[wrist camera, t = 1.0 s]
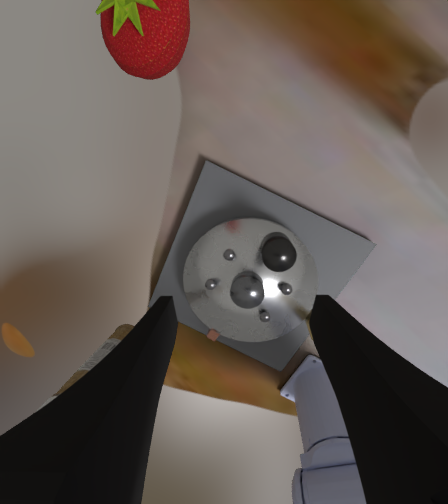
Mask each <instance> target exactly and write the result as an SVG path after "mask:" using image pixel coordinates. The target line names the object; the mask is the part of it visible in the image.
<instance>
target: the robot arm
mask: <svg viewBox="0 0 448 504" xmlns="http://www.w3.org/2000/svg"><path fill="white" fill-rule="evenodd" d="M309 326H310V330H311V334H312V337H313V341H314V344H315V346H316V349H317V351H318V354H319V356H320V359H319V358H317V357H315V356H313V355H308V356H307V357H306V358H305V360H304V361H303V362H302V363H301V365H300V366H299V367H298V368H297V370H296V371H295V372H294V374H293V375H292V376H291V377H290V379H289V380H288V381H287V383H286V384H285V385H284V386H283V388H282V389H281V390H280V394H281V395H282V396H284V397H286V398H288V399H290V400H292V401H294V402H295V404H296V409H297V415H298V420H299V425H300V431H301V437H302V443H303V447H304V454H300V458H301V464H302V468H298V469H296V470H295V474H294V477H293V480H292V499H293V504H448V387H446V386H444V385H443V384H441V383H440V382H438V381H437V380H435V379H434V378H432V377H430V376H429V375H427V374H426V373H424V372H423V371H421V370H420V369H419V368H417V367H416V366H414V365H413V364H411V363H410V362H409V361H407V360H406V359H404V358H403V357H402V356H400V355H399V354H398V353H396V352H395V351H394V350H392V349H391V348H390V347H388V346H387V345H386V344H385V343H383V342H382V341H381V340H380V339H378V338H377V337H376V336H375V335H373V334H372V333H371V332H370V331H369V330H367V329H366V328H365V327H364V326H363V325H362V324H361V323H359V322H358V321H357V320H356V319H355V318H354V317H353V316H351V315H350V314H349V313H348V312H347V311H346V310H345V309H344V308H343V307H342V306H340V305H339V304H338V303H337V302H336V301H335V300H334V299H333V298H332V297H331V296H329V295H316V296H315V300H314V304H313V308H312V312H311V316H310V320H309ZM177 327H178V321H177V316H176V311H175V306H174V301H173V296H160V297H159V298H158V299H157V300H156V302H155V303H154V304H153V305H152V307H151V308H150V309H149V310H148V311H147V313H146V314H145V315H144V316H143V318H142V319H141V320H140V321H139V322H138V323H137V324H136V325H135V327H134V328H133V329H132V330H131V331H130V332H129V333H128V334H127V335H126V336H125V337H124V338H123V339H122V340H121V342H120V343H119V344H118V345H117V346H116V347H115V348H114V349H113V350H112V351H111V352H110V353H109V354H107V355H106V356H105V357H104V358H103V359H102V360H101V361H100V362H99V363H98V364H97V365H95V366H94V367H93V368H92V369H91V370H90V371H88V372H87V373H86V374H85V375H84V376H83V377H81V378H80V379H79V380H78V381H76V382H75V383H74V384H73V385H72V386H70V387H69V388H68V389H66V390H65V391H64V392H62V393H61V394H60V395H58V396H57V397H56V398H54V399H53V400H52V401H50V402H49V403H48V404H46V405H45V406H44V407H42V408H41V409H39V410H38V411H37V412H35V413H34V414H32V415H31V416H30V417H28V418H27V419H25V420H24V421H22V422H21V423H19V424H18V425H16V426H15V427H13V428H12V429H10V430H9V431H7V432H6V433H4V434H3V435H1V436H0V504H141V501H142V494H143V488H144V481H145V475H146V468H147V463H148V456H149V450H150V445H151V439H152V433H153V428H154V423H155V417H156V412H157V407H158V402H159V398H160V393H161V390H162V386H163V382H164V379H165V376H166V372H167V369H168V365H169V362H170V358H171V355H172V351H173V348H174V344H175V339H176V333H177ZM313 360H315V361H313Z"/></svg>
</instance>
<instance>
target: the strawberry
mask: <svg viewBox="0 0 448 504" xmlns="http://www.w3.org/2000/svg"><path fill="white" fill-rule="evenodd" d="M96 13H97V14H99V13H101V29H102V35H103V39H104V42H105V45H106V47H107V48H108V51H109V52H110V54H111V56H112V57H113V58H114V60H115V61H116V63H117V64H118V65H119V67H120V68H121V69H122V70H123V71H125V72H126V73H128V74H130V75H133V76H135V77H140V78H143V79H150V80H151V79H152V80H153V79H157V78H160V77H162V76H164V75H166V74H168V73H169V72H171V71H172V70H173V69H174V68H175V67H176V66H177V65H178V63H179V62H180V60H181V58H182V56H183V53H184V51H185V48H186V45H187V42H188V37H189V31H190V14H189V0H102V2H101V4H100V6H99V7H98V9H97V10H96Z"/></svg>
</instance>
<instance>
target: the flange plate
mask: <svg viewBox="0 0 448 504" xmlns="http://www.w3.org/2000/svg"><path fill="white" fill-rule="evenodd" d="M183 285H184V291H185V295H186V298H187V300H188V303H189V305H190V307H191V308H192V310H193V312H194V313H195V314H196V316H197V317H198V318H199V319H200V320H201V321H202V322H203V323H204V324H205V325H206V326H207V327H209V330H208V333H207V336H206V337H208V338H209V339H211V340H213V341H214V342H215V340H216V339H217V337H218V336H219V335H222V336H225V337H227V338H230V339H234V340H238V341H244V342H262V341H268V340H272V339H275V338H278V337H281V336H283V335H285V334H287V333H289V332H290V331H292V330H293V329H295V328H296V327H297V326H299V325H300V324H301V323H302V322H303V321H304V319H305V318H306V317H307V315H308V314H309V313H310V311H311V309H312V307H313V304H314V300H315V296H316V295H317V292H318V273H317V269H316V265H315V262H314V260H313V257H312V255H311V254H310V252H309V250H308V249H307V247H306V246H305V245H304V244H303V243H302V241H301V240H300V239H299V238H298V237H297V236H296V235H295V234H294V233H293V232H292V231H290V230H289V229H287V228H286V227H284V226H282V225H280V224H278V223H276V222H274V221H271V220H268V219H263V218H257V217H241V218H235V219H231V220H228V221H225V222H222V223H220V224H218V225H216V226H215V227H213V228H212V229H210V230H209V231H208V232H206V233H205V234H204V235H203V236H202V237H201V238H200V239H199V240H198V241H197V242H196V243H195V245H194V246H193V248H192V249H191V251H190V253H189V255H188V257H187V259H186V263H185V266H184V272H183Z"/></svg>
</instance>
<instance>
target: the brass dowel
mask: <svg viewBox="0 0 448 504" xmlns="http://www.w3.org/2000/svg"><path fill="white" fill-rule="evenodd" d="M311 312H312V310H311V311H310V313H309V314H308V315H307V317H306V318H305V319H304V320H305V322H306V325H307V328H308V331H309V333H310V336H311V339H312V340H313V337H312V334H311V330H310V326H309V320H310V316H311Z"/></svg>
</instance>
